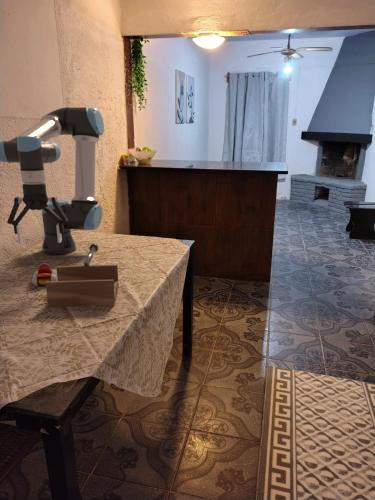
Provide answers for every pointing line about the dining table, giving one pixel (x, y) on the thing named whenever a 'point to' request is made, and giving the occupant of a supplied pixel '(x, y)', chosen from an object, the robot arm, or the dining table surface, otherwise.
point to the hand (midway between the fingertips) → (40, 242)
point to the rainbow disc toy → (44, 275)
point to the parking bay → (83, 286)
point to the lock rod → (90, 254)
